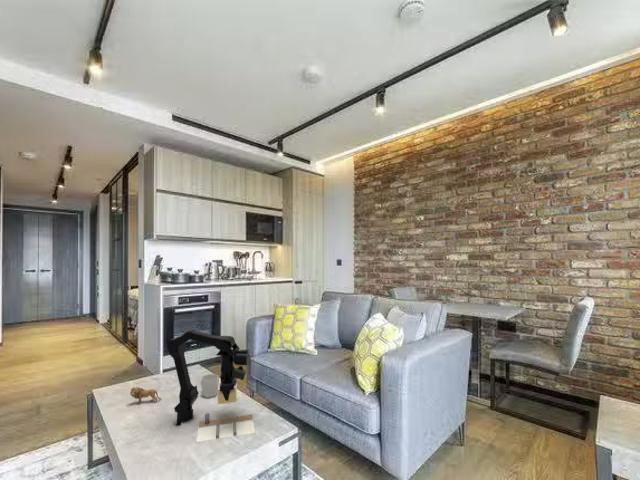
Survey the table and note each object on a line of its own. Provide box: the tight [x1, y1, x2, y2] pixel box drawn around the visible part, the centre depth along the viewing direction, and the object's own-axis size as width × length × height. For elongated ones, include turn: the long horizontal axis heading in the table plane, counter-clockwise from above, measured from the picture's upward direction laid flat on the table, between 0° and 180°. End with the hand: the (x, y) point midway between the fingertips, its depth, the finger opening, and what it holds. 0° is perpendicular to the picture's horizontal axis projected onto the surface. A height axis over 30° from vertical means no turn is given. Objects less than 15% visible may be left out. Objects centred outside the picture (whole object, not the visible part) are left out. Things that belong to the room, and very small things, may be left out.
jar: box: [223, 377, 238, 405], centre depth 168 cm, size 9×8×12 cm
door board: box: [195, 413, 256, 443], centre depth 142 cm, size 24×16×5 cm
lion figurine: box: [129, 386, 162, 406], centre depth 167 cm, size 15×5×9 cm, turn 113°
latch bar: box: [217, 388, 237, 405], centre depth 148 cm, size 8×4×4 cm, turn 106°
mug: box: [200, 373, 220, 399], centre depth 177 cm, size 13×9×10 cm
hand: (226, 398), depth 148 cm, fingers closed on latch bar, 4 cm apart
